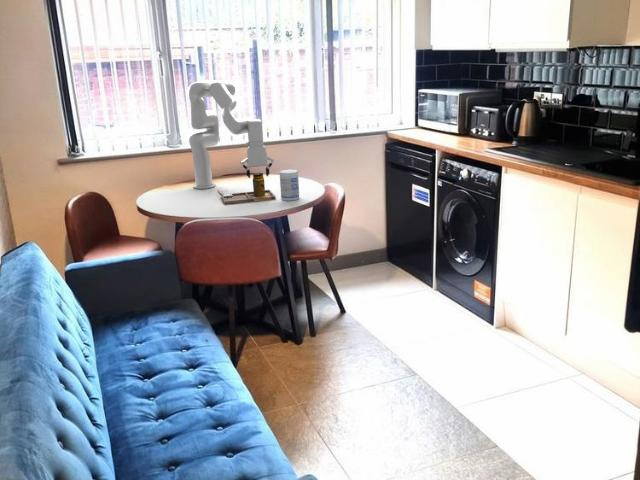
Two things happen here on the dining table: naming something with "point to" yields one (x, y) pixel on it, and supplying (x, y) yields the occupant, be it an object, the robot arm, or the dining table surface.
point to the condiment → (258, 185)
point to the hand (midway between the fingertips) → (258, 176)
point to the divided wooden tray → (247, 197)
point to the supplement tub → (289, 185)
